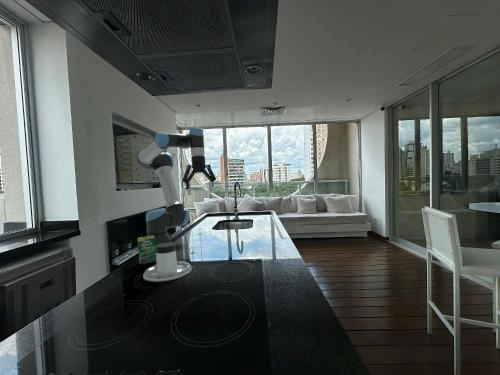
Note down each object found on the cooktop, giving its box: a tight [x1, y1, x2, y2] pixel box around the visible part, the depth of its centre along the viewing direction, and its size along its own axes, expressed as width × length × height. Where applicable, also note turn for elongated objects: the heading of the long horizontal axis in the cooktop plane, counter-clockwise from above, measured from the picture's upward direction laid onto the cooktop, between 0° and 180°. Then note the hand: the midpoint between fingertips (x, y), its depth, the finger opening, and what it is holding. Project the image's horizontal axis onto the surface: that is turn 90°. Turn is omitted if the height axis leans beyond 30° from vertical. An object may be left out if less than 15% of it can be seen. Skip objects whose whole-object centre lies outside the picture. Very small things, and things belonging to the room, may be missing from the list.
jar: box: [155, 242, 178, 276], centre depth 108 cm, size 9×8×12 cm
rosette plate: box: [142, 260, 192, 283], centre depth 111 cm, size 20×20×2 cm
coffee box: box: [137, 235, 157, 265], centre depth 128 cm, size 8×3×13 cm, turn 117°
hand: (200, 194), depth 143 cm, fingers open, 13 cm apart
